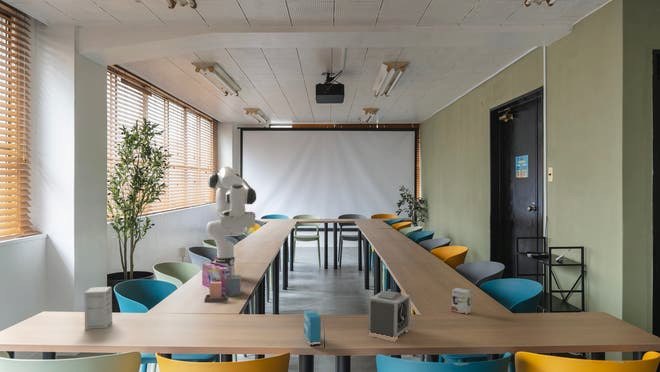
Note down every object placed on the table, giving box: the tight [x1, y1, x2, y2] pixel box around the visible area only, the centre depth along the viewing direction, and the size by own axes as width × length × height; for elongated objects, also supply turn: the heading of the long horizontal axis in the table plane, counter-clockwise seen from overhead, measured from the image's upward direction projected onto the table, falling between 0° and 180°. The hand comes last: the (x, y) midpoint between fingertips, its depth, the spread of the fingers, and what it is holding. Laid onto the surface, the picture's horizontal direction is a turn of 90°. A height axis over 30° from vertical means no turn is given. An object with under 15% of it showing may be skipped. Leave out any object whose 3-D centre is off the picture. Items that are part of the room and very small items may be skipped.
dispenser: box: [221, 274, 242, 297], centre depth 269 cm, size 16×10×10 cm, turn 98°
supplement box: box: [83, 286, 113, 330], centre depth 212 cm, size 10×9×17 cm
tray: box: [204, 293, 227, 303], centre depth 257 cm, size 11×9×2 cm
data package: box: [303, 309, 322, 343], centre depth 195 cm, size 12×4×12 cm, turn 17°
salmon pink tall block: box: [209, 282, 222, 298], centre depth 257 cm, size 6×3×9 cm, turn 98°
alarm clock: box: [368, 290, 411, 337], centre depth 206 cm, size 18×13×18 cm
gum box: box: [201, 261, 232, 292], centre depth 285 cm, size 24×8×14 cm, turn 44°
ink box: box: [451, 287, 472, 312], centre depth 238 cm, size 9×5×12 cm, turn 47°
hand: (238, 234), depth 275 cm, fingers open, 8 cm apart
